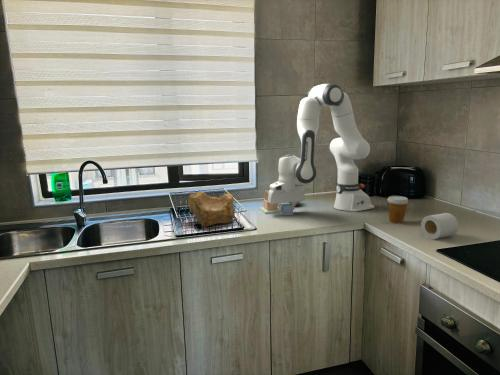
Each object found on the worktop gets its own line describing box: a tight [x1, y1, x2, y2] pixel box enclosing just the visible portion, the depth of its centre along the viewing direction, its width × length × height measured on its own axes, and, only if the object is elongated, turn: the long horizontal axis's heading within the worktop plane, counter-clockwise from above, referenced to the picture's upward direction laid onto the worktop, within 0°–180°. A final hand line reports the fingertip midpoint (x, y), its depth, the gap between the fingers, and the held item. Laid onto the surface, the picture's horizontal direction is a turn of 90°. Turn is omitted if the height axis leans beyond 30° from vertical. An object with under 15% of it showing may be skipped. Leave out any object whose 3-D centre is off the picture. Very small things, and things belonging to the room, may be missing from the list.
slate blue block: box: [279, 203, 294, 216], centre depth 197 cm, size 5×6×5 cm
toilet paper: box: [420, 212, 459, 240], centre depth 158 cm, size 10×10×10 cm
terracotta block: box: [263, 198, 279, 211], centre depth 202 cm, size 6×6×5 cm
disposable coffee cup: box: [386, 195, 409, 224], centre depth 179 cm, size 10×10×12 cm
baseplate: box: [258, 206, 280, 215], centre depth 203 cm, size 10×10×1 cm
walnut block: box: [263, 189, 270, 201], centre depth 201 cm, size 5×6×5 cm
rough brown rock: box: [187, 191, 235, 228], centre depth 180 cm, size 23×17×15 cm
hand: (286, 210), depth 197 cm, fingers closed on slate blue block, 5 cm apart
